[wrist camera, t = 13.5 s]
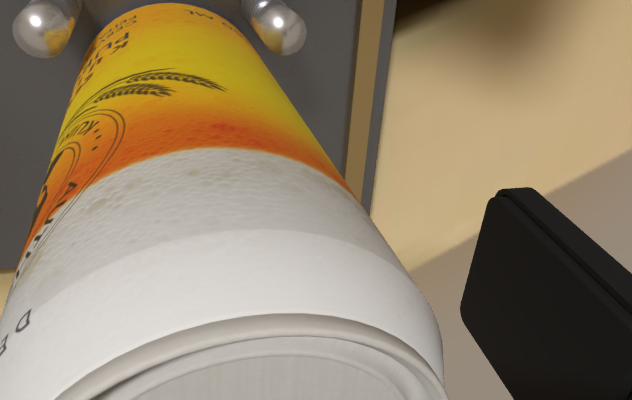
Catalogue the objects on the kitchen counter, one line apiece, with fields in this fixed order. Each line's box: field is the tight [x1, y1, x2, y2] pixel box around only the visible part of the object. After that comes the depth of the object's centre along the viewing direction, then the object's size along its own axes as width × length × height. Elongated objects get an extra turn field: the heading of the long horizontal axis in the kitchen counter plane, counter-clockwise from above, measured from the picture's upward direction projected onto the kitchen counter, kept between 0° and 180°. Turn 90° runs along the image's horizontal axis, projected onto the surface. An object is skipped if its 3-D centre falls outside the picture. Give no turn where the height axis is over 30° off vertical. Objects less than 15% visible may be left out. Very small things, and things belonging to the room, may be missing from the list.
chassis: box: [0, 0, 397, 270], centre depth 18 cm, size 16×13×5 cm
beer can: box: [0, 3, 449, 400], centre depth 13 cm, size 6×6×15 cm
